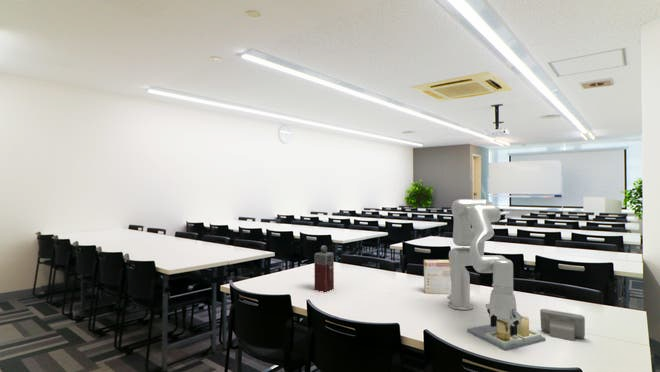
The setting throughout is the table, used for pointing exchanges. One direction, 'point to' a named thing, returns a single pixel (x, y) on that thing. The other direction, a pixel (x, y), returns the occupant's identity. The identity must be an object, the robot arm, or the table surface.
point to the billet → (503, 329)
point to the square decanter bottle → (324, 270)
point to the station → (515, 341)
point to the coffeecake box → (437, 277)
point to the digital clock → (562, 324)
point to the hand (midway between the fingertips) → (503, 330)
